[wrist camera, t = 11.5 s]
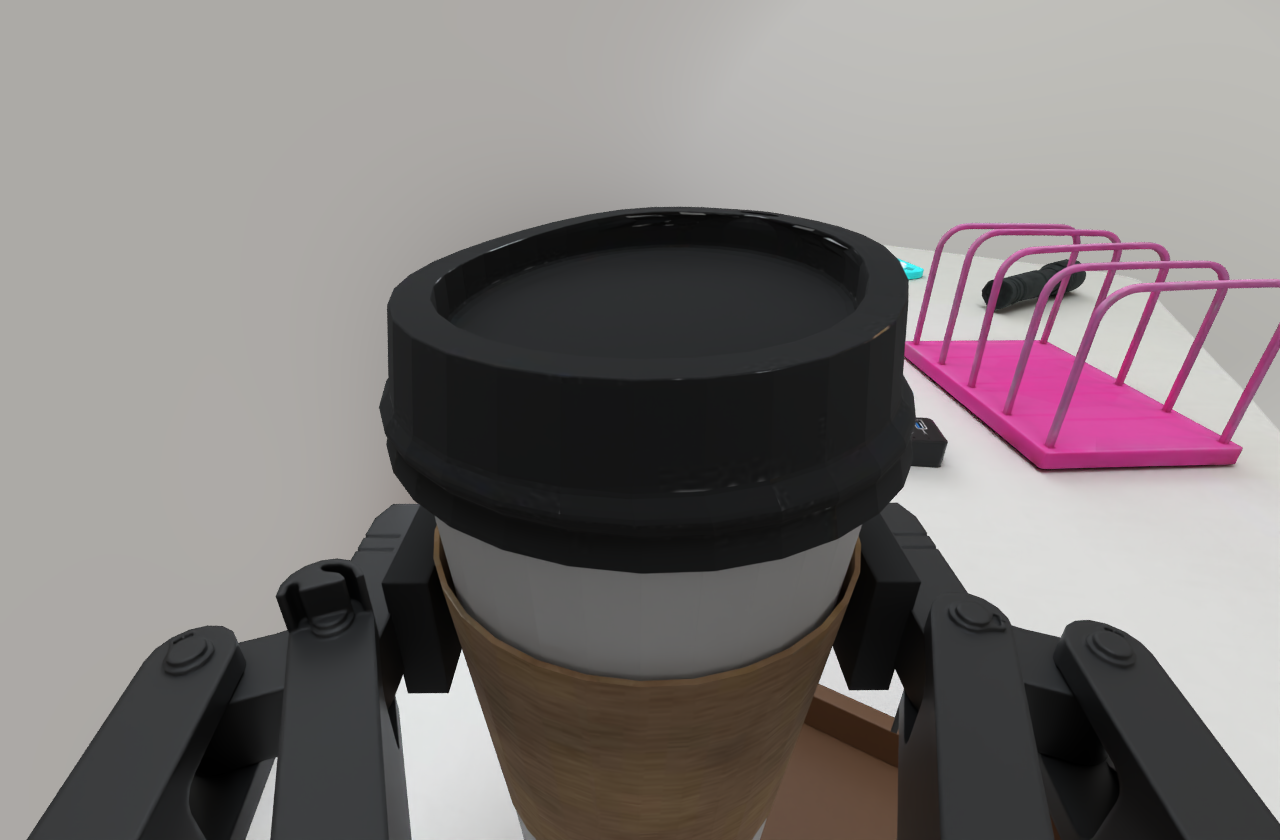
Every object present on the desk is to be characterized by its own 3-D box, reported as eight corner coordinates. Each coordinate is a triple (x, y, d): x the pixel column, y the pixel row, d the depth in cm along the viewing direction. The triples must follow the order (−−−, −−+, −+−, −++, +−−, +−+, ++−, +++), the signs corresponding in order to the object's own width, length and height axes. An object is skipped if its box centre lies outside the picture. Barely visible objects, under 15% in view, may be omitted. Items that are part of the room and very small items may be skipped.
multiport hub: (942, 467, 50) (949, 443, 49) (806, 459, 51) (811, 435, 50) (925, 440, 54) (931, 417, 53) (799, 433, 55) (802, 410, 54)
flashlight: (1080, 294, 95) (1092, 262, 93) (1008, 316, 85) (1019, 281, 83) (1047, 286, 99) (1058, 255, 97) (974, 306, 89) (983, 272, 86)
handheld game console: (875, 281, 100) (876, 273, 99) (826, 257, 114) (827, 250, 113) (928, 278, 102) (930, 270, 101) (874, 255, 116) (876, 248, 115)
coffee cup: (851, 784, 17) (1008, 237, 10) (693, 1160, 11) (810, 447, 4) (614, 643, 21) (607, 190, 14) (407, 858, 15) (220, 257, 8)
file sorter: (1039, 472, 50) (1112, 282, 42) (899, 355, 72) (932, 216, 64) (1236, 466, 51) (1341, 280, 44) (1040, 353, 73) (1087, 216, 66)
